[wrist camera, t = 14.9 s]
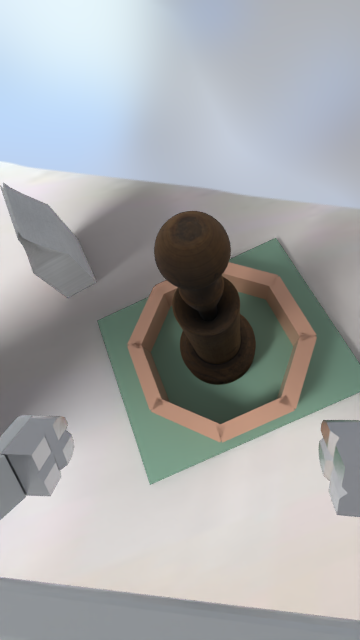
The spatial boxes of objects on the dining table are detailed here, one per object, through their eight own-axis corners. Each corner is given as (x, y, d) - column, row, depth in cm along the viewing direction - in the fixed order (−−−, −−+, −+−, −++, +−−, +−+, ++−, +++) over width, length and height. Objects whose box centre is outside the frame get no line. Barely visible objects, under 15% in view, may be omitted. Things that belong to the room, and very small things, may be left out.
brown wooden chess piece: (189, 311, 29) (124, 159, 12) (258, 318, 28) (288, 155, 11) (178, 379, 27) (80, 307, 10) (250, 390, 26) (274, 328, 9)
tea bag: (77, 238, 35) (20, 173, 26) (96, 282, 33) (40, 226, 24) (50, 253, 35) (-17, 193, 26) (67, 298, 33) (0, 249, 24)
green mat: (152, 483, 25) (150, 484, 25) (99, 322, 31) (97, 320, 31) (371, 386, 25) (374, 385, 24) (275, 241, 30) (275, 237, 30)
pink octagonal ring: (177, 461, 25) (169, 465, 22) (124, 315, 30) (112, 305, 27) (336, 390, 24) (349, 386, 22) (254, 255, 30) (255, 238, 27)
